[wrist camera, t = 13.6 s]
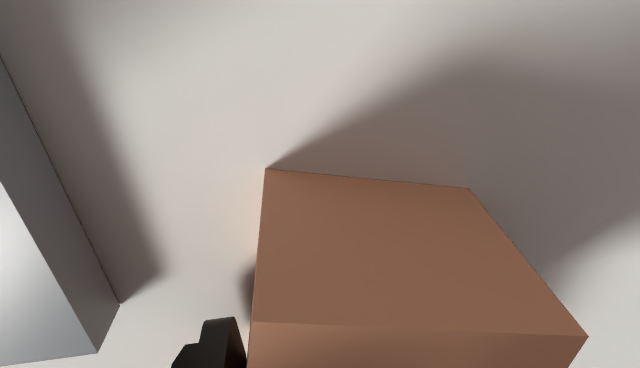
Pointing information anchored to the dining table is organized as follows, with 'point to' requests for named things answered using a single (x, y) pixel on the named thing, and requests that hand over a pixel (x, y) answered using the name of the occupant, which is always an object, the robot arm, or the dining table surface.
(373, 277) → the terracotta brick
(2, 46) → the dining table surface
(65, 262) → the baseplate
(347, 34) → the dining table surface
